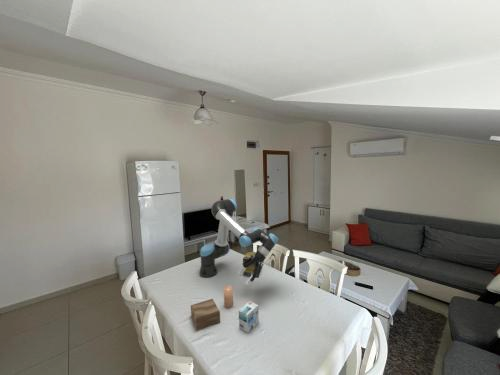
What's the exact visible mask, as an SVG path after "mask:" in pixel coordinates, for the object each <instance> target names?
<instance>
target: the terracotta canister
mask: <svg viewBox="0 0 500 375" xmlns="http://www.w3.org/2000/svg"><path fill="white" fill-rule="evenodd" d="M233 289H234V288H233V286H232V285H226V286H224V287H223V304H224V305H223V306H224V308H225V309H231V308H233V307H234V290H233Z"/></svg>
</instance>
